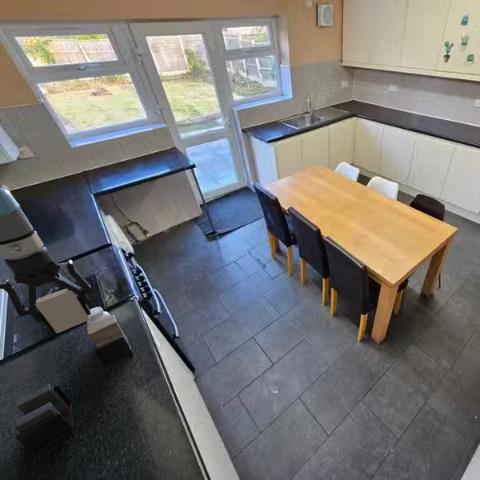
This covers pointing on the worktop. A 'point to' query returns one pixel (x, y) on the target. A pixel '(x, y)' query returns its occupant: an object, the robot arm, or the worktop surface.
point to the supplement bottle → (97, 315)
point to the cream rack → (109, 340)
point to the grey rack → (44, 417)
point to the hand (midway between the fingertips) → (71, 319)
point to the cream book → (62, 310)
